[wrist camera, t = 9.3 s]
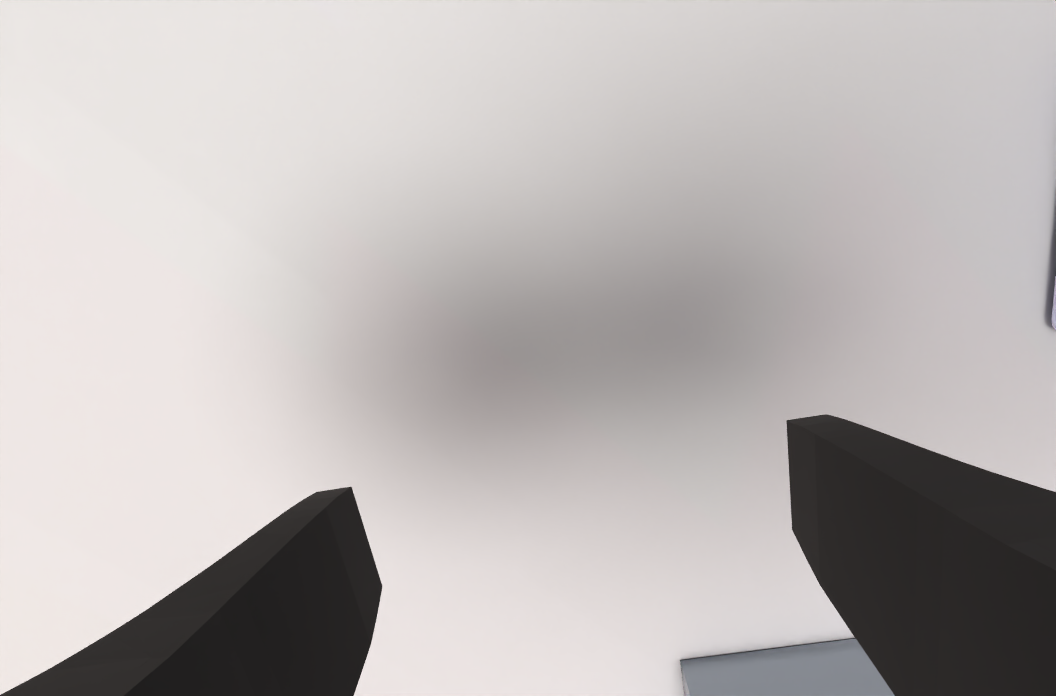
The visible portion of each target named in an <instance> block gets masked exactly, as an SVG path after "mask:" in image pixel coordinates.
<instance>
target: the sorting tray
mask: <svg viewBox="0 0 1056 696" xmlns="http://www.w3.org/2000/svg"><path fill="white" fill-rule="evenodd" d="M680 662H681V670H682V678H683V685H684V693H685V696H895V695H894V694H893V692H892V691H891V689H890V688H889V686H888V685H887V683H886V682H885V681H884V679H883V678H882V676H881V675H880V673H879V672H878V670H877V669H876V667H875V666H874V664H873V663H872V661H871V660H870V659H869V657H868V656H867V654H866V653H865V651H864V650H863V648H862V647H861V645H860V644H859V642H858V641H857V639H848V640H840V641H832V642H824V643H816V644H808V645H800V646H792V647H784V648H776V649H768V650H760V651H752V652H744V653H736V654H728V655H720V656H712V657H704V658H696V659H688V660H680Z"/></svg>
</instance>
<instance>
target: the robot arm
mask: <svg viewBox="0 0 1056 696" xmlns="http://www.w3.org/2000/svg"><path fill="white" fill-rule="evenodd" d="M1052 326H1053V327H1054V329H1055V330H1056V278H1055V289H1054V299H1053V310H1052ZM787 437H788V456H789V476H790V495H791V514H792V530H793V532H794V534H795V536H796V538H797V540H798V542H799V544H800V546H801V548H802V551H803V553H804V555H805V557H806V559H807V561H808V563H809V565H810V567H811V568H812V570H813V572H814V574H815V576H816V578H817V580H818V582H819V584H820V586H821V587H822V589H823V590H824V592H825V593H826V595H827V596H828V598H829V599H830V601H831V602H832V604H833V605H834V607H835V608H836V610H837V611H838V613H839V614H840V616H841V617H842V619H843V620H844V622H845V623H846V625H847V626H848V628H849V629H850V631H851V632H852V634H853V635H854V637H855V638H856V639H857V641H858V642H859V644H860V645H861V647H862V648H863V650H864V651H865V653H866V654H867V656H868V657H869V659H870V660H871V661H872V663H873V664H874V666H875V667H876V669H877V670H878V672H879V673H880V675H881V676H882V678H883V679H884V681H885V682H886V683H887V685H888V686H889V688H890V689H891V691H892V692H893V694H894V695H895V696H1056V492H1053V491H1050V490H1047V489H1043V488H1040V487H1037V486H1034V485H1031V484H1028V483H1024V482H1021V481H1018V480H1015V479H1012V478H1009V477H1005V476H1002V475H999V474H996V473H993V472H990V471H987V470H984V469H981V468H978V467H975V466H972V465H969V464H966V463H963V462H961V461H958V460H955V459H952V458H949V457H947V456H944V455H941V454H938V453H935V452H933V451H930V450H927V449H925V448H922V447H919V446H916V445H914V444H911V443H908V442H906V441H903V440H900V439H898V438H895V437H892V436H889V435H887V434H884V433H881V432H879V431H876V430H873V429H871V428H868V427H865V426H862V425H859V424H857V423H854V422H851V421H848V420H845V419H841V418H838V417H834V416H830V415H819V416H812V417H806V418H799V419H793V420H787ZM381 591H382V584H381V581H380V577H379V574H378V571H377V568H376V565H375V561H374V558H373V555H372V552H371V548H370V545H369V542H368V539H367V536H366V532H365V529H364V526H363V523H362V519H361V516H360V513H359V510H358V507H357V503H356V500H355V497H354V494H353V490H352V487H347V488H340V489H334V490H327V491H321V492H316V493H314V494H312V495H311V496H309V497H307V498H305V499H304V500H302V501H300V502H299V503H297V504H296V505H294V506H293V507H291V508H290V509H289V510H287V511H286V512H284V513H283V514H281V515H280V516H279V517H277V518H276V519H274V520H273V521H272V522H270V523H269V524H267V525H266V526H265V527H263V528H262V529H261V530H259V531H258V532H257V533H255V534H254V535H252V536H251V537H250V538H248V539H247V540H246V541H244V542H243V543H241V544H240V545H239V546H237V547H236V548H235V549H233V550H232V551H230V552H229V553H228V554H226V555H225V556H224V557H222V558H221V559H219V560H218V561H217V562H215V563H214V564H213V565H211V566H210V567H208V568H207V569H205V570H204V571H203V572H201V573H200V574H198V575H197V576H195V577H194V578H192V579H191V580H189V581H188V582H187V583H185V584H184V585H182V586H181V587H179V588H178V589H176V590H175V591H173V592H172V593H171V594H169V595H168V596H166V597H165V598H163V599H162V600H160V601H159V602H157V603H156V604H155V605H153V606H152V607H150V608H149V609H147V610H146V611H144V612H143V613H141V614H139V615H138V616H136V617H135V618H133V619H132V620H130V621H129V622H127V623H125V624H124V625H122V626H121V627H119V628H117V629H116V630H114V631H113V632H111V633H109V634H108V635H106V636H105V637H103V638H101V639H99V640H98V641H96V642H94V643H93V644H91V645H89V646H88V647H86V648H84V649H83V650H81V651H79V652H78V653H76V654H74V655H73V656H71V657H69V658H67V659H66V660H64V661H62V662H61V663H59V664H57V665H55V666H54V667H52V668H50V669H48V670H47V671H45V672H43V673H41V674H39V675H37V676H35V677H33V678H32V679H30V680H28V681H26V682H24V683H22V684H20V685H18V686H16V687H15V688H13V689H11V690H9V691H7V692H5V693H3V694H1V695H0V696H353V695H354V693H355V690H356V687H357V684H358V681H359V678H360V675H361V672H362V669H363V666H364V663H365V660H366V657H367V654H368V651H369V648H370V645H371V641H372V636H373V632H374V627H375V622H376V618H377V613H378V607H379V602H380V596H381Z"/></svg>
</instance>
